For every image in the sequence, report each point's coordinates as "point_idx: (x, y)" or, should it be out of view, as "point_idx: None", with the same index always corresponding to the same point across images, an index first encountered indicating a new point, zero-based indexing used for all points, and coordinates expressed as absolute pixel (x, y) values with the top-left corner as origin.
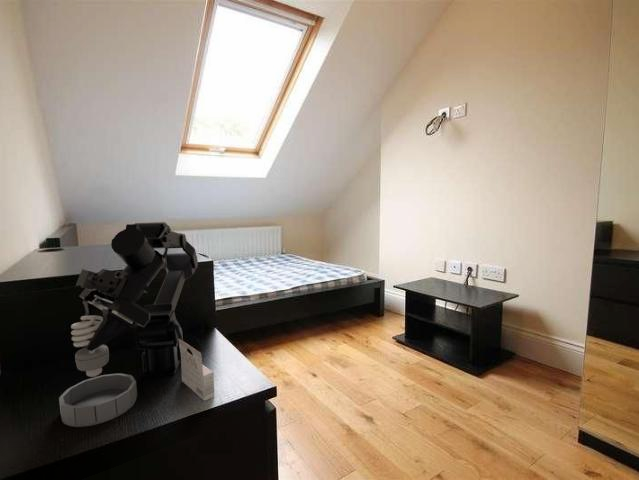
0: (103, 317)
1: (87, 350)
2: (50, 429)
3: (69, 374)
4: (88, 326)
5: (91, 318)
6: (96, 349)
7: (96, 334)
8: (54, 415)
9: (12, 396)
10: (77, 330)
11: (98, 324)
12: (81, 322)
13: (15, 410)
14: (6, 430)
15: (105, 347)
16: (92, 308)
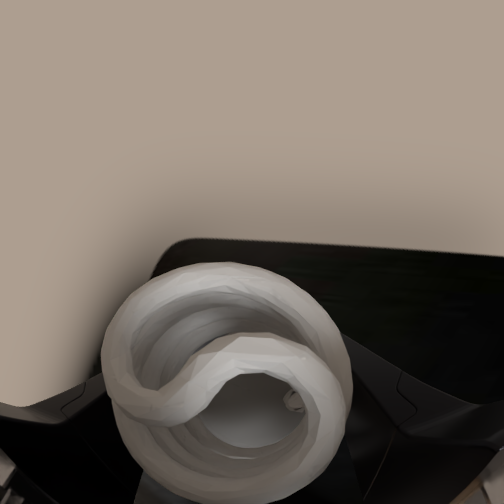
0: (33, 418)
1: (257, 375)
2: None
3: (480, 359)
4: (356, 410)
5: (134, 389)
6: (232, 405)
7: (101, 374)
8: None
9: (446, 261)
10: (291, 327)
11: (116, 413)
12: (320, 356)
13: (384, 260)
14: (312, 244)
15: (225, 439)
16: (430, 479)
